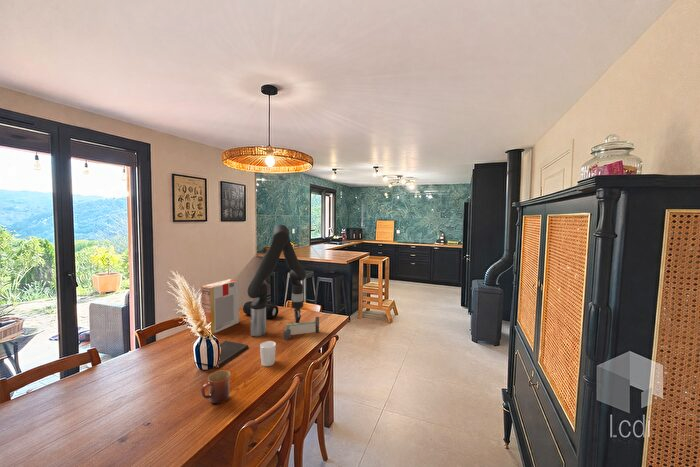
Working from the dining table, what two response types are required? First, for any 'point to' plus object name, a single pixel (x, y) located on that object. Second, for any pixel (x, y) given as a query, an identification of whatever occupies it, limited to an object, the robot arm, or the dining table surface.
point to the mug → (217, 386)
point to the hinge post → (317, 325)
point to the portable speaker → (270, 309)
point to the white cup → (267, 353)
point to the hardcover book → (230, 351)
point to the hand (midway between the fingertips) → (297, 325)
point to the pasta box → (221, 304)
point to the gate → (301, 327)
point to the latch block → (287, 334)
